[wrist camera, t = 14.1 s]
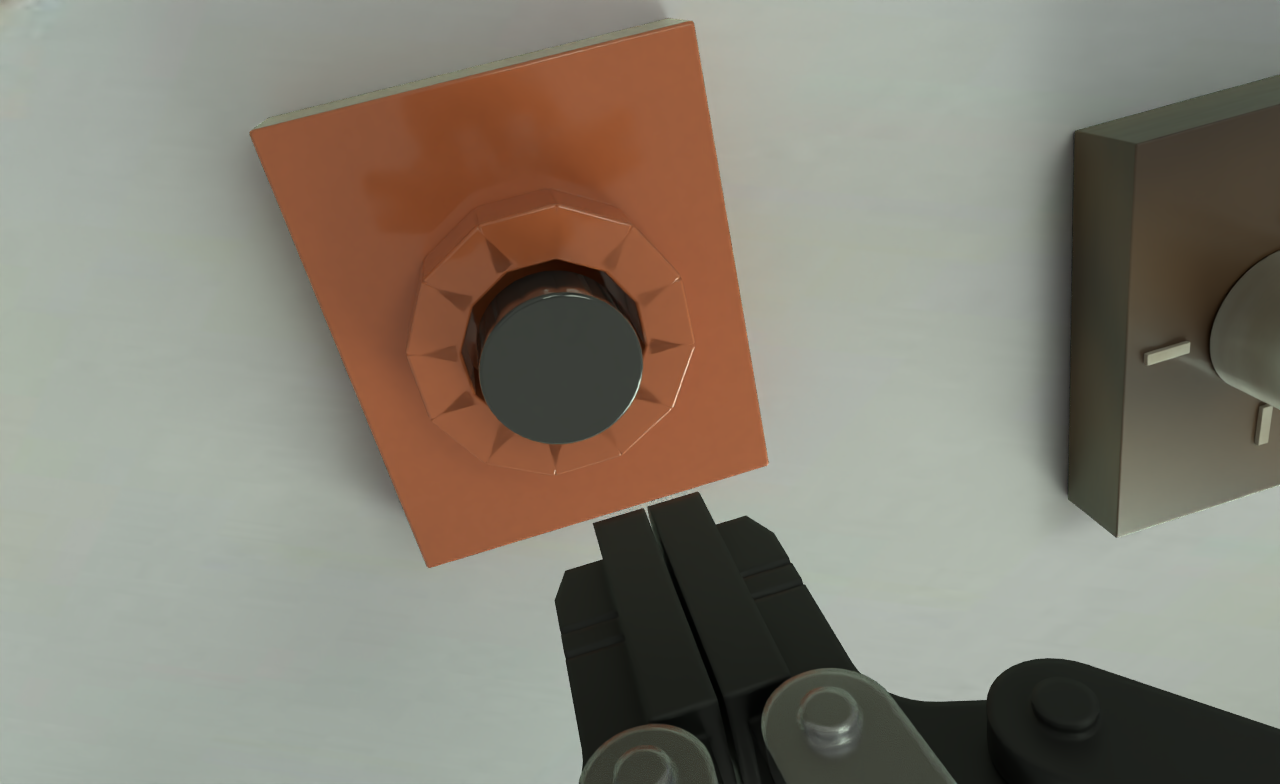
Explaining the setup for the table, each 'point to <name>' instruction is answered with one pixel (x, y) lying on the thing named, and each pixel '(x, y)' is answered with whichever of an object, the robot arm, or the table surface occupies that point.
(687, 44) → the button housing
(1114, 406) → the dial panel
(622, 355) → the button
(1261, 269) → the dial
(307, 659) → the table surface
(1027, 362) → the table surface
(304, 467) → the table surface
